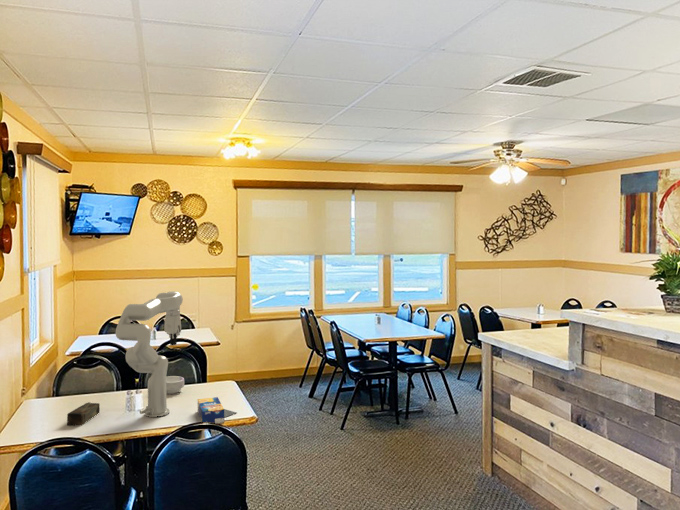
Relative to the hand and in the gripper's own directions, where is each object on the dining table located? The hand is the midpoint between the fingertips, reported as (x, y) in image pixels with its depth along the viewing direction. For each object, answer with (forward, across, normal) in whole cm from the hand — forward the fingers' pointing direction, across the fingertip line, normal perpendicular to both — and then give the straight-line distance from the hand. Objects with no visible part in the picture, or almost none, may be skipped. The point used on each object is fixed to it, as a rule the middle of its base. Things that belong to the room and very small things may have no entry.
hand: (173, 344), depth 309 cm
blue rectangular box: (+30, +27, +2) cm, 40 cm away
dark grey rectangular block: (+34, -13, -46) cm, 59 cm away
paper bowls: (+33, -18, +11) cm, 40 cm away
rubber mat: (+33, +38, +2) cm, 50 cm away
